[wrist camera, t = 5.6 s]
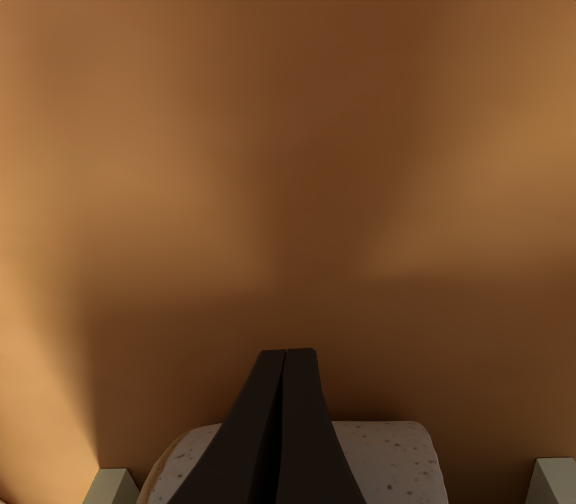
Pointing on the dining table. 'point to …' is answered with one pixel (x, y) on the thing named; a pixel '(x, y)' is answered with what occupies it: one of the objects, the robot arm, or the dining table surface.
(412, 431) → the ceramic mug
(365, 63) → the dining table surface
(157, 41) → the dining table surface
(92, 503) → the counter shelf
